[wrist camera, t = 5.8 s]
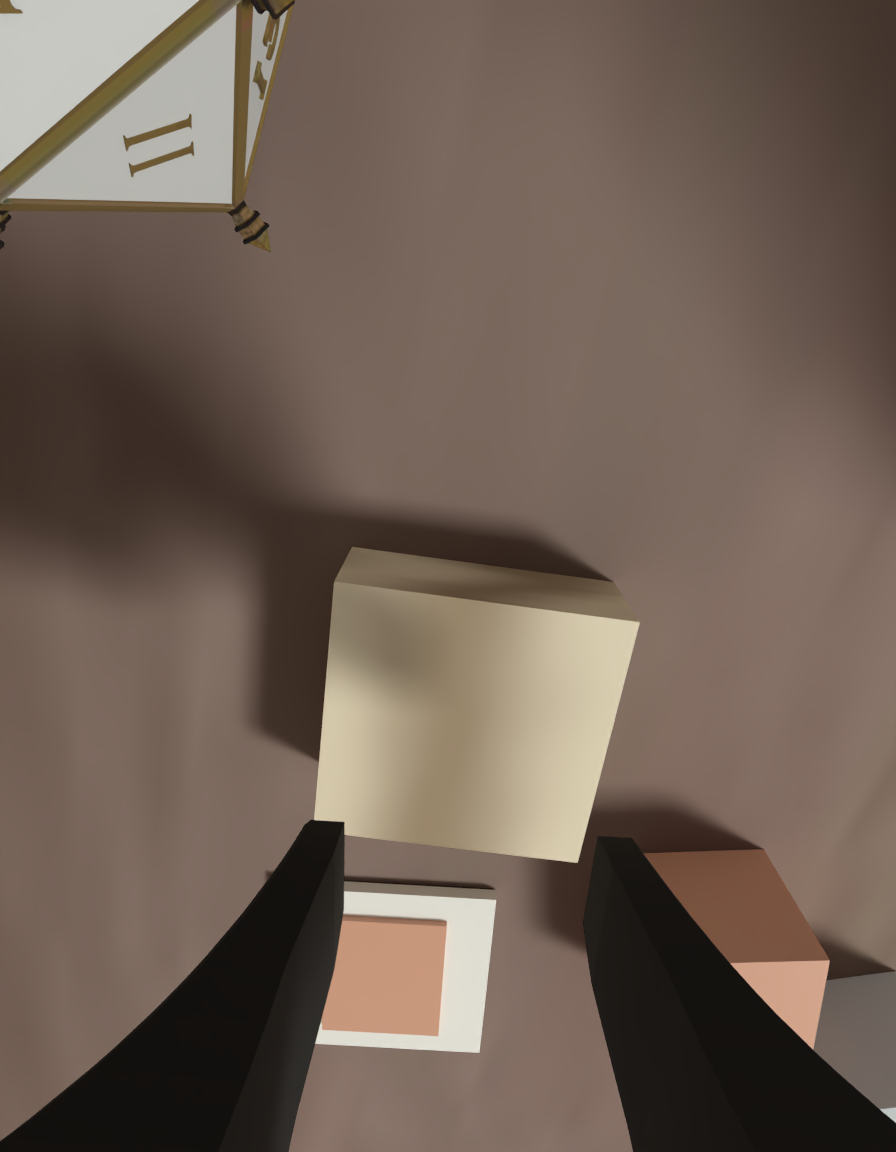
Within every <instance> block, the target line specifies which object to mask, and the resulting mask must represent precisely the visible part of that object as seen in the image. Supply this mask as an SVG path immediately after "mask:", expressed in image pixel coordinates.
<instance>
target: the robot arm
mask: <svg viewBox="0 0 896 1152" xmlns="http://www.w3.org/2000/svg"><path fill="white" fill-rule="evenodd" d="M344 825H345V822H338V821H320V820H310V821H309V822H308V823H306V824H305V825H304V827H303V828H302V830H301V832H300V834H299V835H298V837H297V838H296V840H295V841H294V843H293V845H292V846H291V848H290V849H289V851H288V852H287V854H286V855H285V857H284V858H283V860H282V861H281V862H280V864H279V865H278V867H277V868H276V869H275V871H274V872H273V874H272V875H271V876H270V878H269V879H268V881H267V882H266V883H265V885H264V886H263V887H262V888H261V890H260V891H259V892H258V894H257V895H256V896H255V898H254V899H253V900H252V902H251V903H250V904H249V905H248V907H247V908H246V909H245V911H244V912H243V913H242V914H241V916H240V917H239V918H238V919H237V921H236V922H235V923H234V924H233V925H232V926H231V928H230V929H229V930H228V931H227V932H226V934H225V935H224V936H223V937H222V938H221V939H220V941H219V942H218V943H217V944H216V945H215V946H214V948H213V949H212V950H211V951H210V952H209V954H208V955H207V956H206V957H205V958H204V959H203V960H202V961H201V962H200V964H199V965H198V966H197V967H196V968H195V969H194V970H193V971H192V972H191V973H190V974H189V975H188V977H187V978H186V979H185V980H184V981H183V982H182V983H181V984H180V985H179V986H178V987H177V988H176V989H175V990H174V991H173V992H172V993H171V994H170V995H169V996H168V997H167V998H166V999H165V1000H164V1001H163V1002H162V1003H161V1004H160V1005H159V1006H158V1007H157V1008H156V1009H155V1010H154V1011H153V1012H152V1013H151V1014H150V1015H149V1016H148V1017H147V1018H146V1019H145V1020H144V1021H143V1022H141V1023H140V1024H139V1025H138V1026H137V1027H136V1028H135V1029H134V1030H133V1031H132V1032H131V1033H130V1034H129V1035H128V1036H127V1037H126V1038H124V1039H123V1040H122V1041H121V1042H120V1043H119V1044H118V1045H117V1046H116V1047H115V1048H114V1049H112V1050H111V1051H110V1052H109V1053H108V1054H107V1055H106V1056H105V1057H104V1058H102V1059H101V1060H100V1061H99V1062H98V1063H97V1064H96V1065H94V1066H93V1067H92V1068H91V1069H90V1070H89V1071H87V1072H86V1073H85V1074H84V1075H82V1076H81V1077H80V1078H79V1079H78V1080H76V1081H75V1082H74V1083H73V1084H71V1085H70V1086H69V1087H68V1088H67V1089H65V1090H64V1091H63V1092H62V1093H60V1094H59V1095H58V1096H57V1097H56V1098H54V1099H53V1100H52V1101H51V1102H49V1103H48V1104H47V1105H46V1106H45V1107H43V1108H42V1109H41V1110H40V1111H39V1112H37V1113H36V1114H35V1115H34V1116H32V1117H31V1118H30V1119H29V1120H27V1121H26V1122H25V1123H24V1124H22V1125H21V1126H20V1127H18V1128H17V1129H16V1130H14V1131H13V1132H12V1133H11V1134H9V1135H8V1136H7V1137H5V1138H4V1139H3V1140H1V1141H0V1152H289V1146H290V1141H291V1137H292V1133H293V1128H294V1124H295V1119H296V1115H297V1111H298V1107H299V1103H300V1099H301V1095H302V1092H303V1088H304V1084H305V1080H306V1076H307V1072H308V1069H309V1065H310V1061H311V1057H312V1053H313V1050H314V1046H315V1042H316V1038H317V1034H318V1031H319V1027H320V1023H321V1019H322V1015H323V1011H324V1008H325V1004H326V1000H327V996H328V992H329V988H330V984H331V980H332V977H333V973H334V969H335V962H336V956H337V950H338V944H339V938H340V931H341V925H342V918H343V912H344ZM583 926H584V934H585V941H586V949H587V956H588V963H589V969H590V976H591V983H592V987H593V991H594V995H595V999H596V1003H597V1007H598V1011H599V1015H600V1019H601V1023H602V1027H603V1031H604V1035H605V1039H606V1043H607V1047H608V1051H609V1055H610V1059H611V1063H612V1067H613V1071H614V1075H615V1079H616V1082H617V1086H618V1090H619V1094H620V1098H621V1102H622V1106H623V1110H624V1114H625V1118H626V1122H627V1126H628V1130H629V1134H630V1139H631V1144H632V1148H633V1152H896V1122H894V1121H893V1120H892V1119H891V1118H890V1117H888V1116H887V1115H886V1114H885V1113H883V1112H882V1111H881V1110H880V1109H879V1108H878V1107H877V1106H875V1105H874V1104H873V1103H872V1102H871V1101H870V1100H869V1099H867V1098H866V1097H865V1096H864V1095H863V1094H862V1093H861V1092H859V1091H858V1090H857V1089H856V1088H855V1087H854V1086H853V1085H851V1084H850V1083H849V1082H848V1081H847V1080H846V1079H845V1078H843V1077H842V1076H841V1075H840V1074H839V1073H838V1072H837V1071H836V1070H834V1069H833V1068H832V1067H831V1066H830V1065H829V1064H828V1063H827V1062H826V1061H825V1060H824V1059H823V1058H821V1057H820V1056H819V1055H818V1054H817V1053H816V1052H815V1051H814V1050H813V1049H812V1048H811V1047H810V1046H809V1045H808V1044H807V1043H806V1042H805V1041H804V1040H803V1039H802V1038H801V1037H800V1036H799V1035H798V1034H797V1033H796V1032H795V1031H794V1030H793V1029H792V1028H790V1027H789V1026H788V1025H787V1024H786V1023H785V1022H784V1021H783V1020H782V1019H781V1018H780V1017H779V1016H778V1015H777V1014H776V1013H775V1012H774V1011H773V1010H772V1009H771V1008H770V1007H769V1005H768V1004H767V1003H766V1002H765V1001H764V1000H763V999H762V998H761V997H760V996H759V995H758V994H757V993H756V992H755V990H754V989H753V988H752V987H751V986H750V985H749V984H748V983H747V982H746V980H745V979H744V978H743V977H742V976H741V975H740V974H739V973H738V971H737V970H736V969H735V968H734V967H733V966H732V965H731V964H730V962H729V961H728V960H727V959H726V958H725V957H724V955H723V954H722V953H721V952H720V951H719V950H718V948H717V947H716V946H715V945H714V944H713V942H712V941H711V940H710V939H709V937H708V936H707V935H706V934H705V933H704V931H703V930H702V929H701V928H700V926H699V925H698V924H697V923H696V922H695V920H694V919H693V918H692V917H691V915H690V914H689V913H688V912H687V910H686V909H685V908H684V906H683V905H682V904H681V903H680V901H679V900H678V899H677V897H676V896H675V895H674V894H673V892H672V891H671V890H670V888H669V887H668V886H667V884H666V883H665V882H664V880H663V879H662V878H661V876H660V875H659V874H658V872H657V871H656V870H655V868H654V867H653V866H652V864H651V863H650V862H649V860H648V859H647V858H646V856H645V855H644V853H643V852H642V851H641V849H640V848H639V847H638V845H637V844H636V843H635V842H634V841H633V839H632V838H620V837H602V836H598V838H597V844H596V850H595V856H594V861H593V867H592V873H591V879H590V885H589V891H588V896H587V902H586V908H585V914H584V920H583Z"/></svg>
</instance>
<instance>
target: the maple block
mask: <svg viewBox="0 0 896 1152" xmlns="http://www.w3.org/2000/svg"><path fill="white" fill-rule="evenodd" d="M639 623H640V622H639V620H638V619H637V617H636V616H635V614H634V613H633V611H632V610H631V608H630V606H629V605H628V603H627V602H626V600H625V599H624V597H623V596H622V594H621V593H620V591H619V589H618V588H617V586H616V585H615V583H614V582H610V581H603V580H595V579H588V578H580V577H573V576H565V575H558V574H550V573H543V572H536V571H528V570H521V569H513V568H506V567H498V566H491V565H483V564H476V563H469V562H461V561H454V560H446V559H439V558H431V557H424V556H416V555H409V554H402V553H394V552H387V551H379V550H372V549H364V548H357V547H352V548H351V550H350V552H349V554H348V556H347V558H346V560H345V562H344V563H343V565H342V567H341V569H340V571H339V573H338V575H337V577H336V579H335V581H334V589H333V601H332V613H331V625H330V637H329V649H328V661H327V673H326V685H325V697H324V709H323V721H322V733H321V745H320V757H319V769H318V781H317V793H316V805H315V817H314V820H320V821H338V822H345V825H344V835H350V836H358V837H366V838H375V839H383V840H391V841H400V842H408V843H416V844H424V845H433V846H441V847H449V848H458V849H466V850H474V851H482V852H491V853H499V854H507V855H515V856H524V857H532V858H540V859H549V860H557V861H565V862H573V863H578V860H579V856H580V852H581V848H582V844H583V840H584V836H585V832H586V829H587V825H588V821H589V817H590V813H591V809H592V805H593V801H594V798H595V794H596V790H597V786H598V782H599V778H600V774H601V770H602V767H603V763H604V759H605V755H606V751H607V747H608V743H609V739H610V736H611V732H612V728H613V724H614V720H615V716H616V712H617V708H618V705H619V701H620V697H621V693H622V689H623V685H624V681H625V677H626V674H627V670H628V666H629V662H630V658H631V654H632V650H633V646H634V642H635V639H636V635H637V631H638V627H639Z"/></svg>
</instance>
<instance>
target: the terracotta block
mask: <svg viewBox="0 0 896 1152" xmlns="http://www.w3.org/2000/svg"><path fill="white" fill-rule="evenodd" d="M644 855H645V856H646V858H647V859H648V860H649V862H650V863H651V864H652V866H653V867H654V868H655V870H656V871H657V872H658V874H659V875H660V876H661V878H662V879H663V880H664V882H665V883H666V884H667V886H668V887H669V888H670V890H671V891H672V892H673V894H674V895H675V896H676V897H677V899H678V900H679V901H680V903H681V904H682V905H683V906H684V908H685V909H686V910H687V912H688V913H689V914H690V915H691V917H692V918H693V919H694V920H695V922H696V923H697V924H698V925H699V926H700V928H701V929H702V930H703V931H704V933H705V934H706V935H707V936H708V937H709V939H710V940H711V941H712V942H713V944H714V945H715V946H716V947H717V948H718V950H719V951H720V952H721V953H722V954H723V955H724V957H725V958H726V959H727V960H728V961H729V962H730V964H731V965H732V966H733V967H734V968H735V969H736V970H737V971H738V973H739V974H740V975H741V976H742V977H743V978H744V979H745V980H746V982H747V983H748V984H749V985H750V986H751V987H752V988H753V989H754V990H755V992H756V993H757V994H758V995H759V996H760V997H761V998H762V999H763V1000H764V1001H765V1002H766V1003H767V1004H768V1005H769V1007H770V1008H771V1009H772V1010H773V1011H774V1012H775V1013H776V1014H777V1015H778V1016H779V1017H780V1018H781V1019H782V1020H783V1021H784V1022H785V1023H786V1024H787V1025H788V1026H789V1027H790V1028H792V1029H793V1030H794V1031H795V1032H796V1033H797V1034H798V1035H799V1036H800V1037H801V1038H802V1039H803V1040H804V1041H805V1042H806V1043H807V1044H808V1045H809V1046H810V1047H811V1048H812V1049H813V1048H814V1043H815V1038H816V1032H817V1027H818V1022H819V1016H820V1011H821V1006H822V1000H823V995H824V990H825V984H826V979H827V974H828V968H829V963H830V960H829V958H828V956H827V955H826V953H825V951H824V950H823V948H822V946H821V945H820V943H819V941H818V940H817V938H816V936H815V935H814V933H813V931H812V930H811V928H810V926H809V925H808V923H807V921H806V920H805V918H804V916H803V914H802V913H801V911H800V909H799V908H798V906H797V904H796V903H795V901H794V899H793V898H792V896H791V894H790V893H789V891H788V889H787V888H786V886H785V884H784V883H783V881H782V879H781V878H780V876H779V874H778V873H777V871H776V869H775V868H774V866H773V864H772V863H771V861H770V859H769V858H768V856H767V854H766V853H765V851H764V849H753V850H725V851H696V852H668V853H644Z"/></svg>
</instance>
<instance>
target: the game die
mask: <svg viewBox="0 0 896 1152" xmlns="http://www.w3.org/2000/svg"><path fill="white" fill-rule="evenodd" d="M294 3H295V0H0V233H1V232H3V231H4V230H5V226H6V225H5V224H6V223H7V222H8V221H9V220H10V219H11V216H10V215H9V214H8V211H126V212H227V213H229V214H230V215H231V216H232V218H233V220H234V223H235V225H236V227H235V229H234V230H235V231H236V232H238V231H239V232H240V234H241V235H242V236H243V238H244V241H243V243H244V244H247V243H249V244H252V245H254V246H257V247H259V248H261V249H264V250H266V251H269V252H271V251H270V244H269V237H268V230H267V228H268V227H269V225H268V223H265V222H263V221H262V220H261V219H260V218H259V215H260V214H259V212H258V211H254V210H252V209H251V208H249V207H248V206H247V205H246V203H245V202H244V197H245V193H246V189H247V185H248V181H249V177H250V173H251V169H252V166H253V162H254V158H255V154H256V150H257V146H258V142H259V138H260V134H261V130H262V127H263V123H264V119H265V115H266V111H267V107H268V103H269V99H270V95H271V92H272V88H273V84H274V80H275V76H276V72H277V68H278V64H279V60H280V56H281V53H282V49H283V45H284V41H285V37H286V33H287V29H288V25H289V21H290V18H291V14H292V10H293V6H294ZM3 247H4V242H3V241H1V240H0V249H1V248H3Z"/></svg>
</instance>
